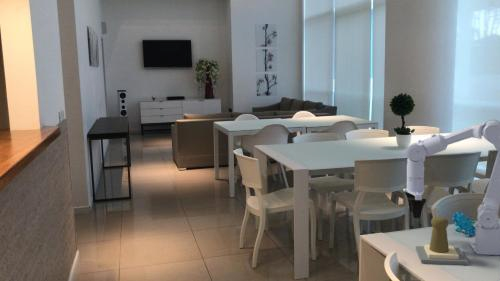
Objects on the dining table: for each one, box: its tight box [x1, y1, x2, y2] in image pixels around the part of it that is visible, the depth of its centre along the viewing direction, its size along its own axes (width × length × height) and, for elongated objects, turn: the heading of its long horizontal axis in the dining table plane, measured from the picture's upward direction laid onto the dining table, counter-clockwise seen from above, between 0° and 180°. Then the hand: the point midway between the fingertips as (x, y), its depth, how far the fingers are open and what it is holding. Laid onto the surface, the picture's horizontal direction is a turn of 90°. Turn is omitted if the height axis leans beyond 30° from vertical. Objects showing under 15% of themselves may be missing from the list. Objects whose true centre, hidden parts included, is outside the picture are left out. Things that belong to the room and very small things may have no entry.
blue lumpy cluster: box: [452, 211, 477, 237], centre depth 179 cm, size 11×6×10 cm
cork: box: [429, 216, 449, 253], centre depth 156 cm, size 6×6×11 cm
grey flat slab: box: [415, 244, 469, 266], centre depth 157 cm, size 14×12×2 cm
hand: (414, 214), depth 169 cm, fingers open, 7 cm apart
